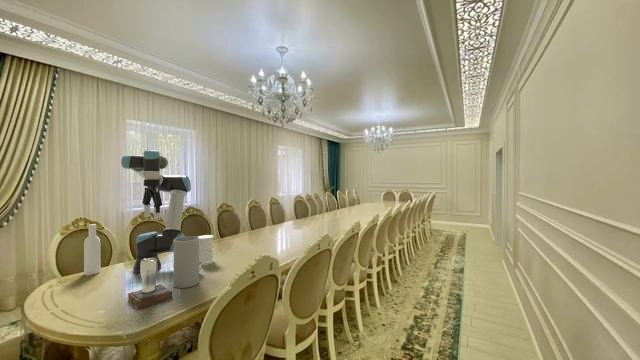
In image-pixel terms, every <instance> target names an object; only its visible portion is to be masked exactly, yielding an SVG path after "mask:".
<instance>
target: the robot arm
mask: <svg viewBox="0 0 640 360" xmlns="http://www.w3.org/2000/svg"><path fill="white" fill-rule="evenodd" d="M160 154H161V153H160V151H159V150H144V151H143V155H133V154H132V155H131V154H130V155H123V156H122V158H121V161H120V162H121V163H120V164H121V167H122V168H123V169H128V170H130V169H131V170H132V171H134V172H135V173H137V174H138V175H139V176H140V177H141V178H143V187H144V192H143V198H142V205H143V206H144V207H143V211H144V213H143V215H144V218H148V217H150V218H151V201H153V204H154V205H153V219H154V220H160V219H161V206H163V201H162V197H161V193H160V192H163V193H168V194H169V195H170V199H169V205H168V211H167V215H166V216H167V218H166V223H165V228H164V229H163V230H162V232H161V233H159V232H158V231H151V232H146V233H141V234H139V235H137V236H136V240H135V241H136V242H135V246H136V247H135V249H136V251H135V252H136V259H135V262H134V265H133V268H132V272H133V273H134V274H141V273H140V265H141V260H143V259H146V258H157V271H158V270H161V268H162V262H161V260H160V257H159V254H160V253H174V239H176V238H180V237H186V236H185V234H184V233H183V230H181V226H182V219H183V218H182V215H183V210H184V203H185V197H186V196H187V195H188V193H189V192H191V190H192V187H191V186H192V184H191V179H190V178H189V176H188V175H163V174H162V175H161V171H160V170H164V169H166V168H167V167H168V165H169V160H168V159H167V158H166V157H165V156H162V155H160Z"/></svg>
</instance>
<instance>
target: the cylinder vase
mask: <svg viewBox="0 0 640 360" xmlns="http://www.w3.org/2000/svg"><path fill="white" fill-rule="evenodd" d="M199 282H200V272H199V237H198V236H194V235H193V236H189V235H188V236H185V237H180V238H176V239H174V252H173V287H175V288H177V289H186V288H190V287H191V288H192V287H193V286H194V287H195V286H196V285H197V284H199Z"/></svg>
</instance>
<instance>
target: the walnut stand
mask: <svg viewBox="0 0 640 360" xmlns="http://www.w3.org/2000/svg"><path fill="white" fill-rule="evenodd" d="M127 296H128V298H127V300H128V302H129V303H130V304H131V305H132V306H134V308H136V309H137V310H138V311H140V309H141V310H144V309H147V308H149V307H152V306H155V305H157V304H161V303H164V302H167V301H171V300H173V290H170V289H169V288H168V287H165V286H164V285H162V284H156V290H155V291H153V292H150V293H142V289H139V290H136V291H132V292H128V295H127Z"/></svg>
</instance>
